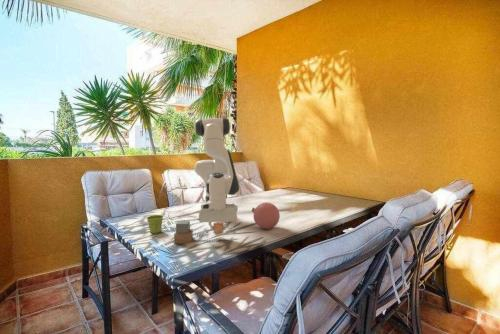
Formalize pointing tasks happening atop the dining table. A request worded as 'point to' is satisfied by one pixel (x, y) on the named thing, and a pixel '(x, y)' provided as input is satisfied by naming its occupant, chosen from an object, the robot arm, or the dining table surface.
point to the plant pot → (155, 223)
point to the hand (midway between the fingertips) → (218, 229)
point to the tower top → (182, 227)
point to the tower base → (183, 237)
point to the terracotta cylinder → (218, 227)
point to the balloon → (266, 215)
